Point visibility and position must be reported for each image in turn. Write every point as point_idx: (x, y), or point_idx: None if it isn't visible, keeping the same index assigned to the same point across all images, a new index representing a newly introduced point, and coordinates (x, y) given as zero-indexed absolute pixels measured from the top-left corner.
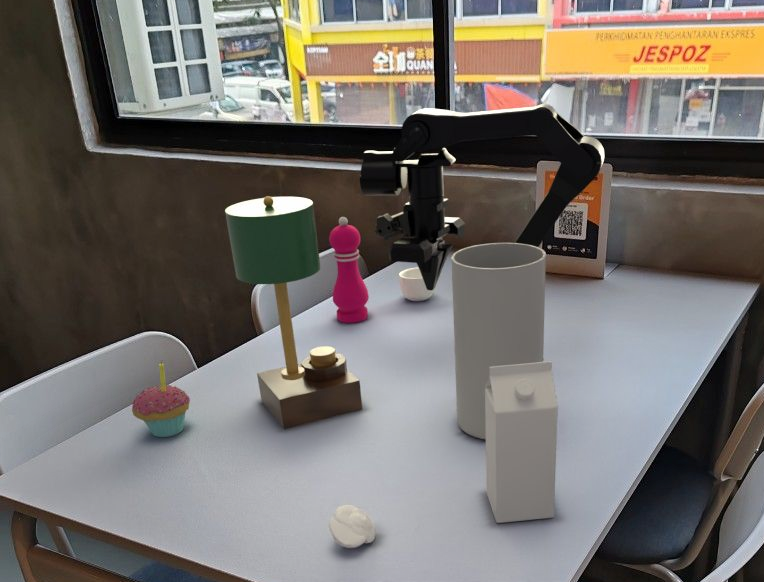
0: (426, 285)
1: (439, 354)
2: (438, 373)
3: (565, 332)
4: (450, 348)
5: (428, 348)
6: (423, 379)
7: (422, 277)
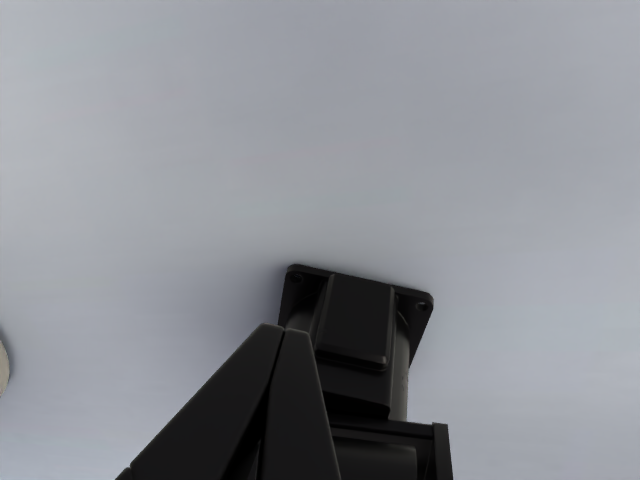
0: (237, 357)
1: (374, 98)
2: (153, 131)
3: (598, 473)
4: (459, 138)
5: (462, 21)
6: (71, 79)
7: (178, 414)
